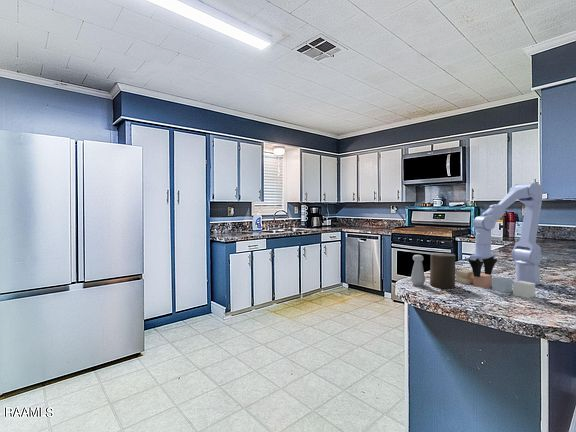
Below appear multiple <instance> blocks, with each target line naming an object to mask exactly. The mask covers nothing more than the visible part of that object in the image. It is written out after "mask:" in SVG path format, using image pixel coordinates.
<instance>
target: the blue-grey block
mask: <svg viewBox="0 0 576 432" xmlns="http://www.w3.org/2000/svg"><path fill="white" fill-rule="evenodd" d="M512 281H514V280H513V278H509V277H502V276H496V277H492V287H491V290H493V291H495V292H500V293H503V294H504V293H510V292H513V282H512Z"/></svg>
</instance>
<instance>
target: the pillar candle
mask: <svg viewBox="0 0 576 432" xmlns="http://www.w3.org/2000/svg"><path fill="white" fill-rule="evenodd" d="M429 268H430V273H429V274H430V275H429V277H430V278H429V283H430V284H429V285H430V286H432V287H435V288H438V289H448V290H450V289H454V288H455V287H456V254H454V253H444V251H442V252H432V253H430V267H429Z"/></svg>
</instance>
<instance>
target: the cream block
mask: <svg viewBox="0 0 576 432" xmlns="http://www.w3.org/2000/svg"><path fill="white" fill-rule="evenodd" d="M512 295H514V296H517V297H522V298H525V299H530V298H534V297H536V285H535V283H530V282H525V281H517V282H514V283H513V282H512Z"/></svg>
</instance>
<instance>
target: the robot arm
mask: <svg viewBox="0 0 576 432" xmlns="http://www.w3.org/2000/svg"><path fill="white" fill-rule="evenodd" d="M543 194H544V188H543V186H542V185H541V184H540V183H538V182H529V183H515V184H514V185H512V186H511V187H510V188H509V191H508V193H506V195H505V196H503V198H502V199H501V200H500V201H499V202H498V203H497V204H496V203H495V204H494V203H493V204H490V205H489V207H488V209H486V210H485V211H484V212H483V213H481V215H479V216H476V217H475V218H474V220H473V221H472V223H471V224H472V226H473V228H474V232H475V246H474V247H475V248H474V249H475V252H474V253H472V254H470V255H469V258H468V263H469V264H470V267H471V269H472V270H471V271H473V274H474V276H475V277H480V274H481V273H482V267H483V270H484V274H488V275H492V273H493V270H494V267H495V265H496V264H497V262H498V259H497V258H496V253H493V252H492V230H493V229H494V228H495V227H496V223H497V222H498V220H500V219H501V218H502V217H503V216H504V215H505V214H506V209H508V208H509V207H510V206H512V204H514V203H515V202H516V201H519V202H520V203H523V205H524V206H525V207H524V208H525V209H524V215H523V221H522V227H521V231H520V232H521V233H520V240H519V241H517V242H515V243H514V246H513V248H512V250H511V253H510V254H511V258H512V259H513V260H514V263H515V280H513V281H512V284H513V283H514V282H517V281H525V282H530V283H535V286H537V285H541V284H543V282H541V268H540V266H539V263H540V262H541V261H542V257H543V256H542V247H541V246H540V245H539V244H537V243H536V242H537V235H538V229H539V222H540V217H541V210H542V203H543V201H542V200H543Z"/></svg>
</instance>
